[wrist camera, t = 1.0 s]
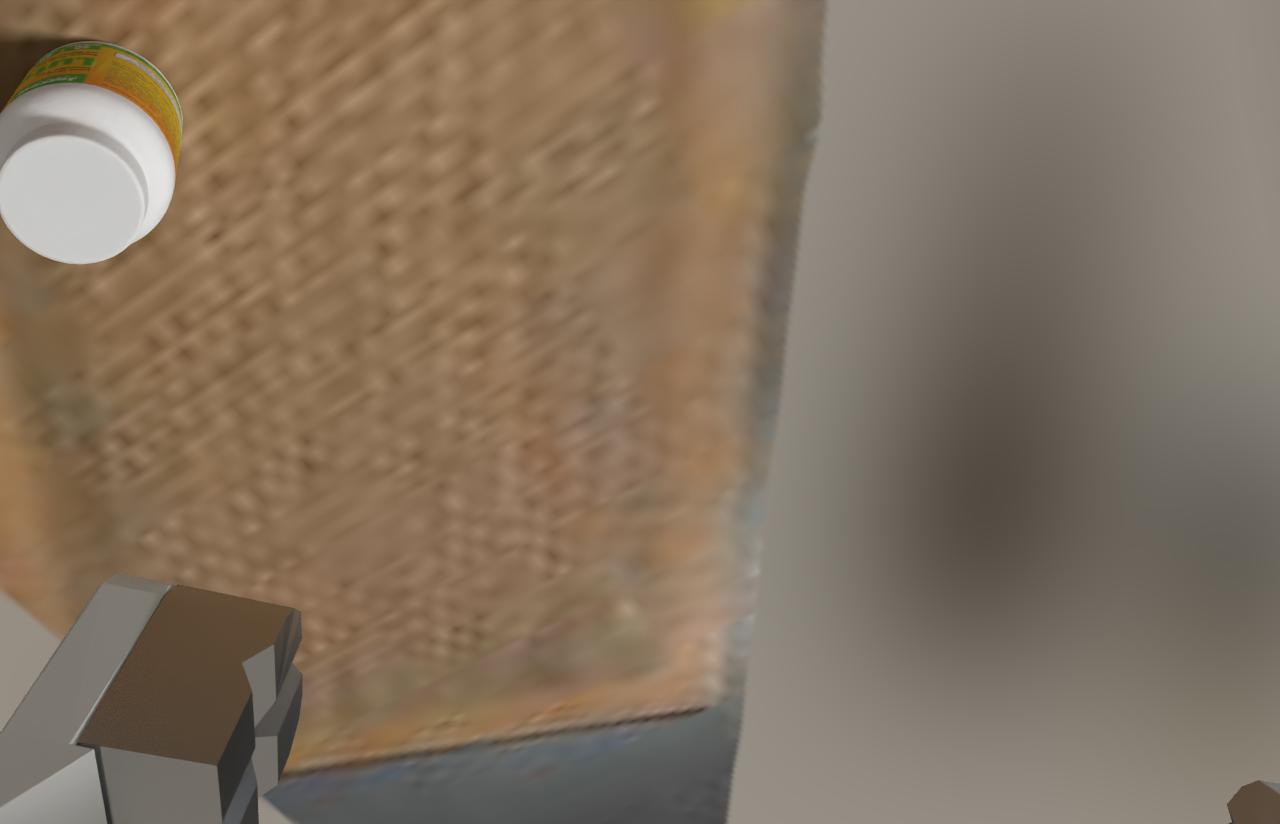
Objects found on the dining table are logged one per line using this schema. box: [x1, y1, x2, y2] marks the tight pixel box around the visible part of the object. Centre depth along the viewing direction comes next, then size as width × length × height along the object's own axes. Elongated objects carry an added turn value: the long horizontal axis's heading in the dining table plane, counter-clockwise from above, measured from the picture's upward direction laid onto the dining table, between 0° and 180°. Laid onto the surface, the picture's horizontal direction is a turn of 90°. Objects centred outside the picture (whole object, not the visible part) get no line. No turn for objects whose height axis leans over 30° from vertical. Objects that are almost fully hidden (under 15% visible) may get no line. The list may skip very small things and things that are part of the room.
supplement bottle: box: [0, 41, 183, 264], centre depth 37 cm, size 5×5×10 cm
